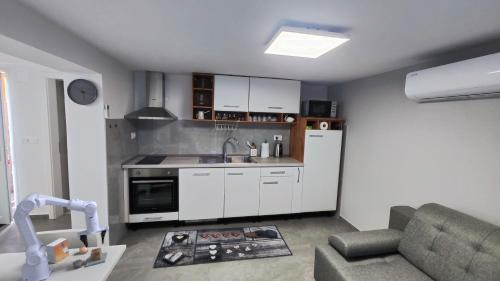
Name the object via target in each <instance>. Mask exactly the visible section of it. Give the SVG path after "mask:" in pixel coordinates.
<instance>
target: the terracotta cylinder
mask: <svg viewBox="0 0 500 281" xmlns="http://www.w3.org/2000/svg"><path fill="white" fill-rule="evenodd" d="M88 247H89V246H88ZM88 247H87V248H86V247H85V245H83V246H81V247H80V248H79V251H78V252H79V255H85V254H87V253H89V249H88Z"/></svg>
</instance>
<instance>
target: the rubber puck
mask: <svg viewBox="0 0 500 281" xmlns="http://www.w3.org/2000/svg"><path fill="white" fill-rule="evenodd" d="M82 267H83V260H82V259H76V260H75V261H73V262H72V268H73V270H79V269H81V268H82Z"/></svg>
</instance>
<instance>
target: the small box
mask: <svg viewBox="0 0 500 281" xmlns="http://www.w3.org/2000/svg"><path fill="white" fill-rule="evenodd" d="M45 246H46V247H47V252H46V256H47V259H48V263H52V264H57V263H59V262H60V261H62V260H63V259H64V258H66V257H68V256H70V251H69V244H68V239H67V238H64V237H59V238H58V239H56V240H53V241H52V242H50V243H49V244H47V245H45Z"/></svg>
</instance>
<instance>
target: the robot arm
mask: <svg viewBox="0 0 500 281" xmlns="http://www.w3.org/2000/svg"><path fill="white" fill-rule="evenodd" d="M44 206H45V207H46V206H54V207H55V206H57V207H63V208H66V209H67V210H69V211H75V212H80V213H81V212H82V213H84V215H85V217H84V219H85V225H86V226H85V227H86V230H82V231H79V232H77V234H76V235H77V238H79V240H80V241H81V242H82V243H83V246H85V247H86V248H87V247H89V242H88V235H90V236H91V235H95V234H97V233H100V237H101V244H102V245H104V244H105V237H106V234H107V232H109V228H110V227H109V225H108V226H100V222H99V215H98V210H97V207H98V204H97V202H96V201H94V200H81V199H79V198H72V199H69V200H68V199H65V198H59V197H56V196H52V195H51V196H50V195H47V194H43V193H40V194H39V193H35V192H34V193H29V194H28V195H27V196H26V197H25V198H23V199H22V200H21V201H20V202H19V203H18V204H17V205H16V208H15V211H14V213H13V215H12V218H13V221H14V223H15V225H16V228H17V230H18V232H19V234H20V237H21V239H22V241H23V245H24V247H25V263H24V264H23V266H22V268H21V276H22V281H43V280H44V281H45V280H47V279H48V278H49V277H50V275H51V274H52V272H53V268H50V267H49V266H50V265H49V262H48V257H47V247H46V245H45V244H44V243H43V241H41V240H40V238H39V236H38V234H37V231H36V229H35V226H34V225H33V221H32V219H31V217H30V215H29V214H30V213H31V212H32V211H34V210H35V209H36V208H38V209H39V208H42V207H44Z"/></svg>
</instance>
